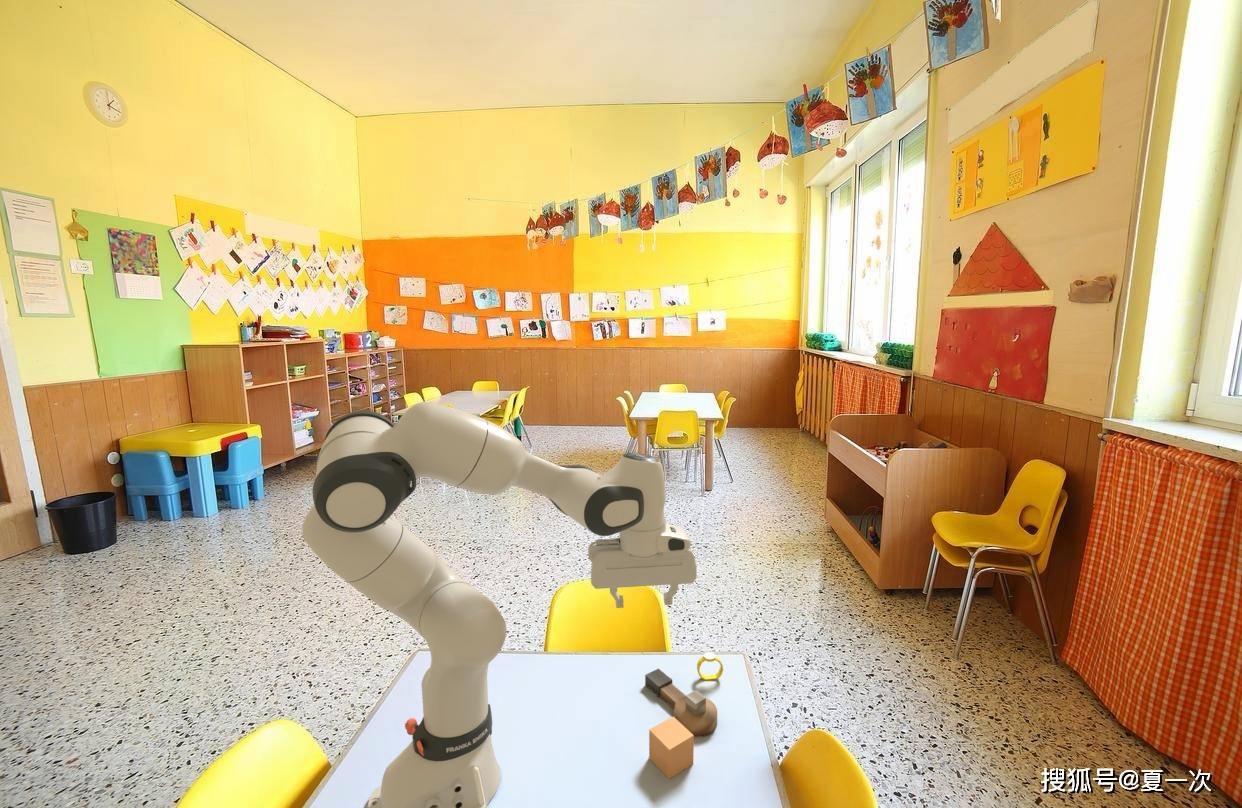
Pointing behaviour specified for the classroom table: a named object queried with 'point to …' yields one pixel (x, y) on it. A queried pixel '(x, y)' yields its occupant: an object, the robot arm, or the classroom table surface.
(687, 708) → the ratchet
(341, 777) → the classroom table surface
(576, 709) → the classroom table surface
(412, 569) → the robot arm
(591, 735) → the classroom table surface
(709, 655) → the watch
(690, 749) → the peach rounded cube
